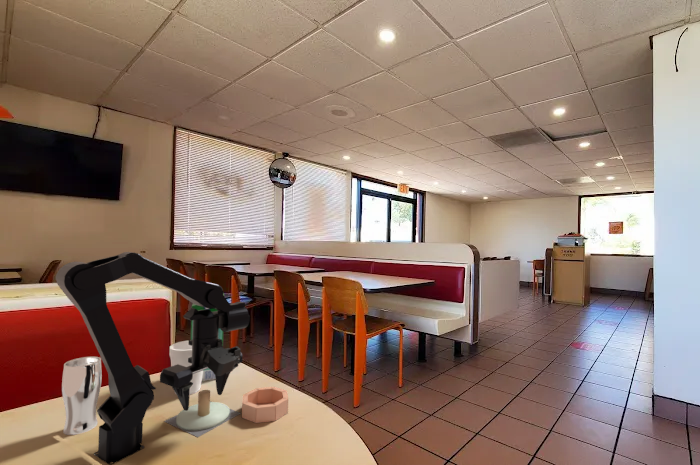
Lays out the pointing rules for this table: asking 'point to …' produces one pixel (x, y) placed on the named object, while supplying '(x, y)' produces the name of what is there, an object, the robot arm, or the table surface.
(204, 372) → the milk carton
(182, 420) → the lid
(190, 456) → the table surface
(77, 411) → the beer glass
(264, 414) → the bowl
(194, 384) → the foam cup
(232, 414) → the mat
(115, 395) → the robot arm
